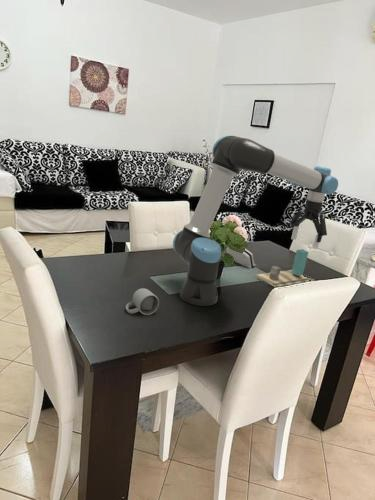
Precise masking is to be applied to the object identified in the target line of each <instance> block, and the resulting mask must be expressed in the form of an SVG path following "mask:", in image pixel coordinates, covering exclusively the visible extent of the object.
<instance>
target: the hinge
mask: <svg viewBox="0 0 375 500" xmlns="http://www.w3.org/2000/svg"><path fill="white" fill-rule="evenodd" d="M226 252H227V253H229V254H231V255H232V256H233V257H234V261H235V262H234V261H233V262H234V263H237V264H238V265H242V266H244V267H245V266H246V267H245V268H247V269H252V267H254V266H256V263H255V261H254V254H253V253H252V252H251V251H250V250H248V249H247V248H245V250H244V252H243V253H239V252H236V251H233V250H231V249H229V248H228V247H227V248H226ZM254 268H255V267H254Z"/></svg>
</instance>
